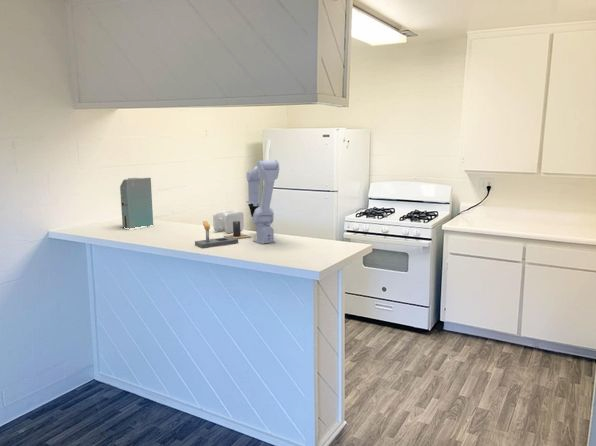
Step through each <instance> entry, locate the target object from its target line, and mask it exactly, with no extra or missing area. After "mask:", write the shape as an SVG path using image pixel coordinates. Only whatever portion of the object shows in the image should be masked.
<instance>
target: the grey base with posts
mask: <svg viewBox="0 0 596 446" xmlns="http://www.w3.org/2000/svg"><path fill="white" fill-rule="evenodd" d="M234 244H239V239H235V238H233V237H224V236H223V237H217V238H210V229H205V239H203V240H195V241H194V246H196V247H198V248H200V249H206V248H214V247H221V246H228V245H229V246H230V245H234Z"/></svg>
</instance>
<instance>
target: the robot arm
mask: <svg viewBox="0 0 596 446" xmlns="http://www.w3.org/2000/svg"><path fill="white" fill-rule="evenodd" d="M279 173H280V164H279V161H278V160H277V159H273V160H258V161H257V165H255V166H254V168H252V170H248V171H247V172H246V180H247V182H248V184H247V186H248V190H247V191H248V193H247V194H248V200H246V203H248V204H247V206H248V208H249V211H250V215H251V216H250V217H252V221H253V224H254V225H256V226H255V228H256V230H255V231H256V239H253V242H255V243H259V244H271V243H275V242H276V241H275V240H274V239H275V237H274V236H275V235H274V233H275V232H274V228H273V227H272V224H273V222H274V217H275V216H274V210H273V209H272V208H271V207H270V206H271V202H272V197H273V191H274V185H275V180H277V179H279ZM261 181H263V187H262V192H261V198H260V182H261ZM259 203H260V205H259Z"/></svg>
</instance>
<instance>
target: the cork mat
mask: <svg viewBox="0 0 596 446" xmlns="http://www.w3.org/2000/svg"><path fill="white" fill-rule="evenodd" d="M224 237H233V238H235V239H238V240H243V239H251V238H252V237H251V236H250V235H248V234H244V233H241V236H240V237H234V236H233V234H225V235H223V238H224Z"/></svg>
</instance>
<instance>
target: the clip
mask: <svg viewBox="0 0 596 446" xmlns="http://www.w3.org/2000/svg"><path fill="white" fill-rule="evenodd" d="M202 224H203V227H204V230H206V229H209V230H210V229H211V225H210V223H208V221H207V220H204V221H203V222H202Z"/></svg>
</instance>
